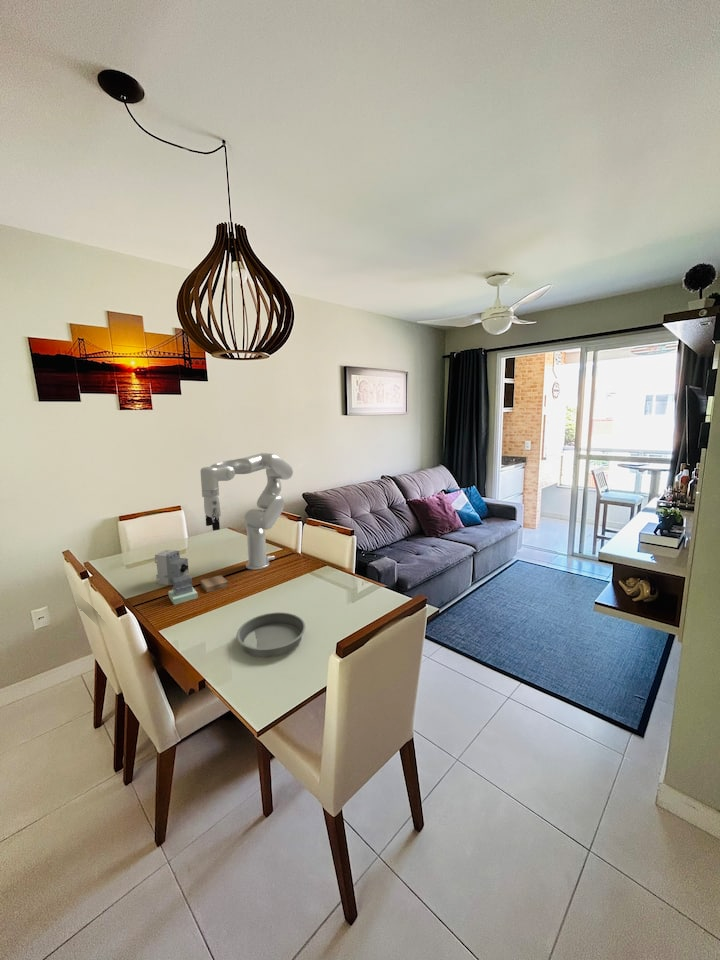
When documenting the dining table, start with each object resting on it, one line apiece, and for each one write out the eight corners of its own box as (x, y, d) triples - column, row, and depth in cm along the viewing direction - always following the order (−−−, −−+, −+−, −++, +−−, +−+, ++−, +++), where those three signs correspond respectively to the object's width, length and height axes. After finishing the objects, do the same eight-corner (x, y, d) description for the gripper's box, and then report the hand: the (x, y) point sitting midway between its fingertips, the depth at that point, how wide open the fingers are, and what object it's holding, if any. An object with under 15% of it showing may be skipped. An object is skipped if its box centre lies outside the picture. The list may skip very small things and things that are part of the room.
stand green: (191, 590, 179) (191, 585, 179) (197, 598, 172) (197, 592, 171) (168, 596, 173) (168, 591, 173) (174, 604, 166) (173, 599, 165)
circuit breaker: (182, 586, 184) (180, 557, 181) (156, 583, 186) (154, 554, 184) (192, 579, 191) (190, 551, 188) (167, 577, 194) (164, 549, 191)
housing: (189, 587, 176) (188, 574, 175) (192, 591, 173) (191, 578, 171) (173, 592, 172) (172, 578, 171) (176, 596, 168) (174, 582, 167)
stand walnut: (221, 579, 191) (221, 575, 191) (228, 586, 183) (228, 581, 183) (200, 585, 185) (200, 580, 184) (207, 592, 177) (206, 587, 177)
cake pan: (274, 616, 157) (273, 605, 156) (319, 635, 143) (319, 624, 142) (223, 645, 137) (222, 633, 136) (269, 670, 123) (269, 658, 122)
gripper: (224, 494, 176) (226, 530, 179) (212, 489, 189) (214, 522, 192) (208, 496, 171) (210, 533, 174) (196, 491, 184) (199, 525, 187)
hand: (212, 527), depth 183 cm, fingers open, 9 cm apart
